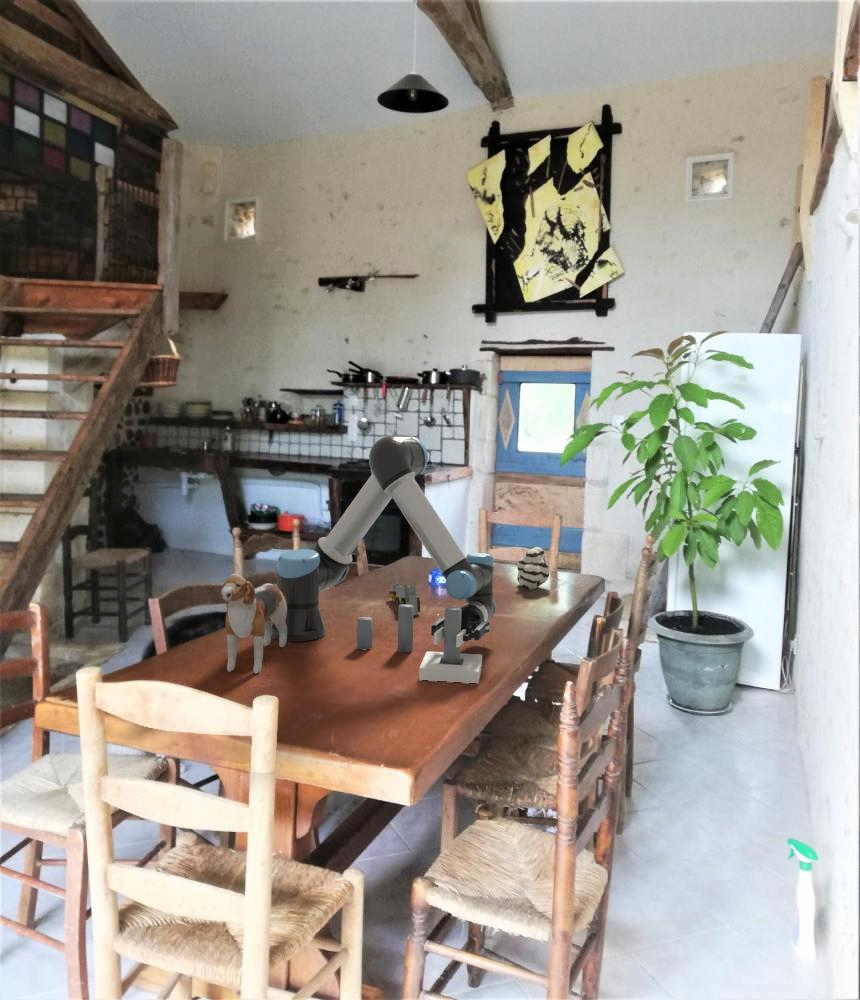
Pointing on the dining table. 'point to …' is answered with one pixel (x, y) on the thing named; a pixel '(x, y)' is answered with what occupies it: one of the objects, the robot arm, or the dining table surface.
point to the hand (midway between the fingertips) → (446, 640)
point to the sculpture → (532, 569)
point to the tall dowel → (452, 635)
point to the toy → (405, 595)
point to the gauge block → (450, 668)
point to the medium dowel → (405, 628)
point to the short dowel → (364, 633)
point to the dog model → (252, 616)
